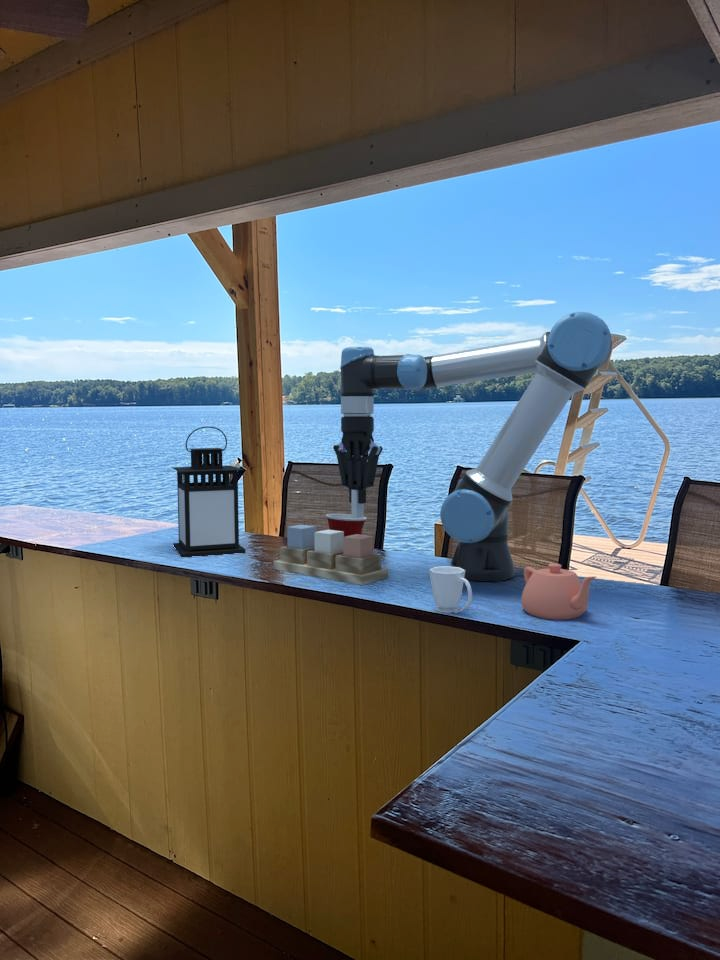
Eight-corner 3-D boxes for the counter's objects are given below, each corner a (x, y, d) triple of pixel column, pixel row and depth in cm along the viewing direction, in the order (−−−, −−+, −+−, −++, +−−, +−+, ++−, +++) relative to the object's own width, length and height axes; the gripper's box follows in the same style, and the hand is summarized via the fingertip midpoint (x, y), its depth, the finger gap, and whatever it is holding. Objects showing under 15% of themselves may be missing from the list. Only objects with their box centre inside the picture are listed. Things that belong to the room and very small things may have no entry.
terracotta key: (373, 561, 172) (373, 536, 172) (360, 565, 168) (360, 539, 168) (356, 559, 175) (356, 534, 175) (343, 562, 171) (343, 536, 171)
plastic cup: (372, 562, 190) (372, 516, 189) (331, 565, 187) (331, 518, 186) (360, 555, 200) (360, 511, 199) (321, 557, 198) (321, 512, 196)
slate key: (316, 550, 183) (315, 526, 183) (302, 553, 179) (302, 528, 179) (301, 547, 186) (301, 524, 186) (287, 550, 183) (287, 526, 182)
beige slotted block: (388, 577, 173) (388, 554, 172) (362, 585, 165) (362, 561, 165) (301, 562, 190) (300, 541, 190) (273, 569, 183) (273, 547, 182)
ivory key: (343, 556, 178) (343, 531, 177) (330, 559, 174) (330, 534, 173) (328, 553, 181) (328, 529, 180) (314, 556, 177) (314, 532, 176)
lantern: (232, 543, 220) (230, 425, 216) (245, 553, 204) (243, 426, 200) (173, 547, 213) (170, 426, 210) (181, 557, 197) (178, 427, 194)
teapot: (545, 599, 153) (546, 554, 152) (616, 619, 137) (617, 569, 136) (501, 607, 146) (502, 560, 145) (570, 630, 131) (572, 577, 130)
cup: (447, 603, 149) (447, 564, 148) (483, 614, 141) (484, 572, 140) (421, 609, 145) (421, 568, 144) (457, 620, 137) (457, 577, 136)
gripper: (389, 415, 168) (389, 518, 170) (345, 415, 176) (346, 513, 178) (369, 415, 162) (370, 521, 164) (325, 415, 170) (325, 516, 172)
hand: (357, 517), depth 171 cm, fingers closed
